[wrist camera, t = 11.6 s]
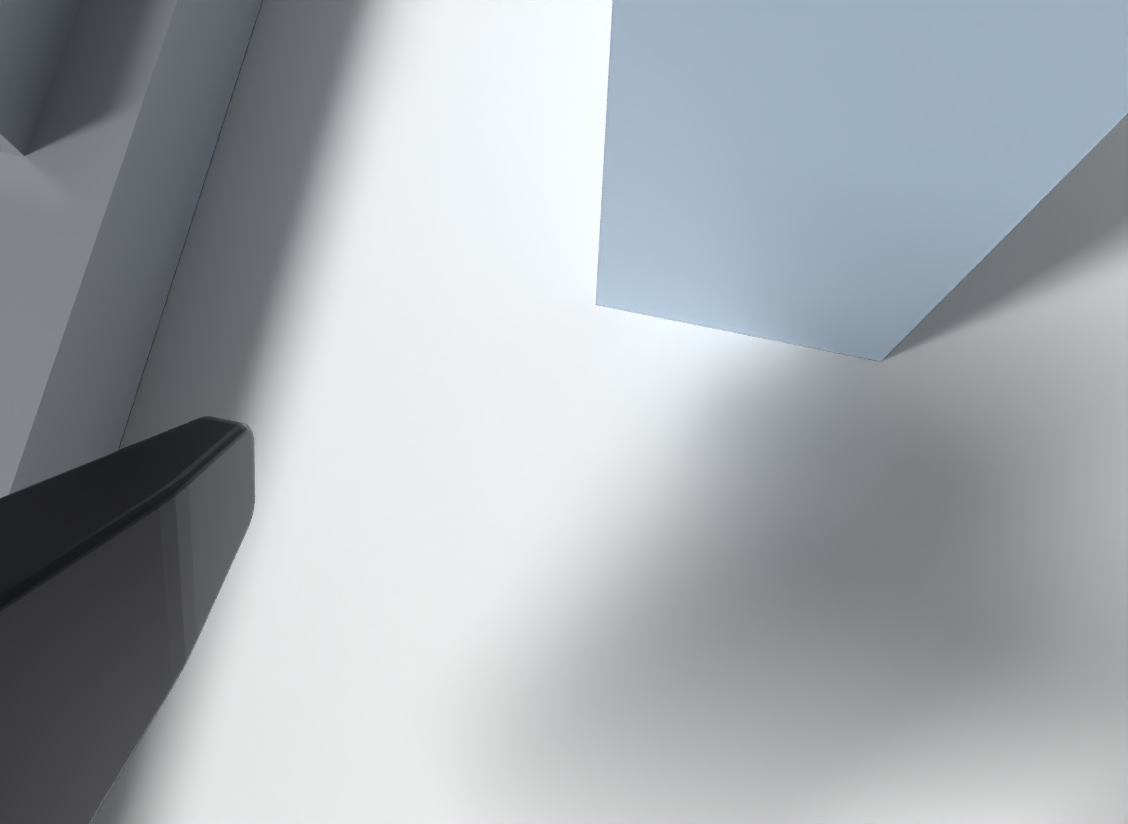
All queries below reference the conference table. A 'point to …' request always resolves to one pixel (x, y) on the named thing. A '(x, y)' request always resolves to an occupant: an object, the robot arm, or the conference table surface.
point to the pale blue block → (838, 153)
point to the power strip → (97, 205)
